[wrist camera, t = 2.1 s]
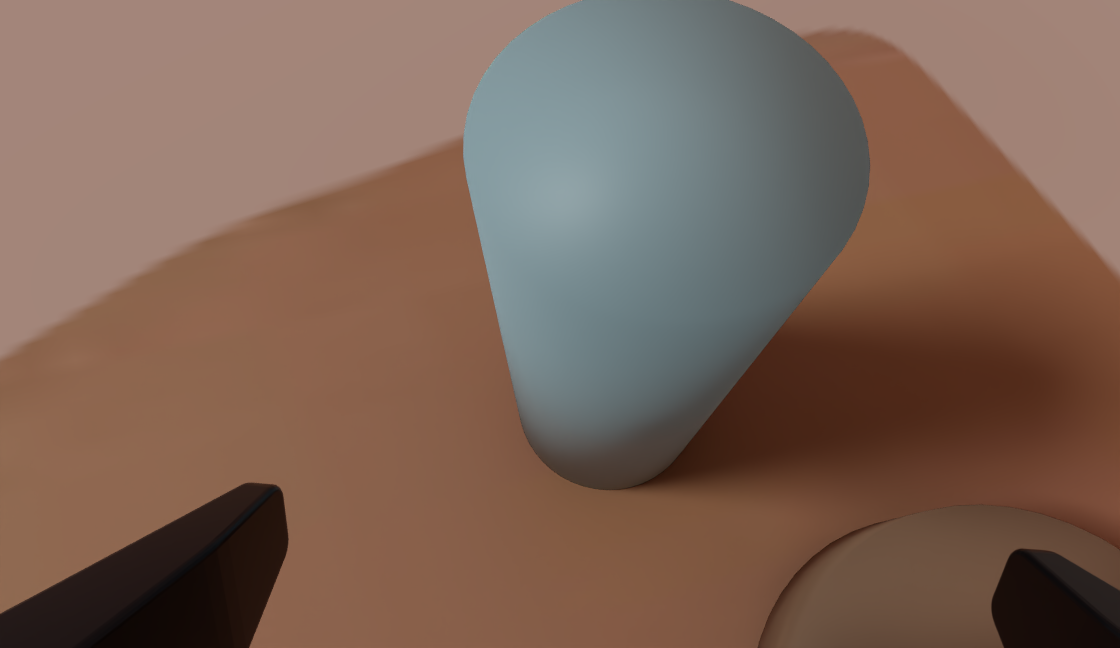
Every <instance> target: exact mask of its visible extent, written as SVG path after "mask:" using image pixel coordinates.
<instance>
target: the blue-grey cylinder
mask: <svg viewBox="0 0 1120 648" xmlns="http://www.w3.org/2000/svg"><path fill="white" fill-rule="evenodd" d="M463 157H464V164H465V171H466V177H467V182H468V187H469V191H470V196H471V200H472V205H473V209H474V214H475V218H476V223H477V227H478V232H479V236H480V241H481V245H482V250H483V254H484V259H485V263H486V268H487V272H488V277H489V281H490V286H491V290H492V295H493V299H494V303H495V308H496V312H497V317H498V321H499V326H500V330H501V335H502V339H503V344H504V348H505V353H506V357H507V362H508V366H509V371H510V375H511V380H512V384H513V389H514V393H515V398H516V402H517V407H518V411H519V415H520V420H521V424H522V427H523V430H524V433H525V435H526V437H527V440H528V442H529V444H530V445H531V447H532V448H533V450H534V452H535V453H536V454H537V455H538V457H539V458H540V459H541V460H542V461H543V462H544V463H545V464H546V465H547V466H548V467H549V468H550V469H551V470H553V471H554V472H556V473H557V474H558V475H560V476H561V477H563V478H565V479H567V480H569V481H571V482H573V483H576V484H579V485H581V486H585V487H589V488H594V489H603V490H615V489H624V488H629V487H633V486H636V485H639V484H642V483H644V482H646V481H648V480H650V479H653V478H654V477H656V476H657V475H659V474H660V473H662V472H663V471H664V470H665V469H666V468H668V467H669V466H670V465H671V464H672V463H673V462H674V460H675V459H676V458H677V457H678V456H679V454H680V453H681V452H682V451H683V449H684V448H685V447H686V446H687V444H688V443H689V442H690V441H691V439H692V438H693V437H694V436H695V434H696V433H697V432H698V431H699V429H700V428H701V427H702V426H703V424H704V423H705V422H706V421H707V419H708V418H709V417H710V416H711V414H712V413H713V412H714V410H715V409H716V408H717V407H718V405H719V404H720V403H721V402H722V400H723V399H724V398H725V397H726V395H727V394H728V393H729V392H730V390H731V389H732V388H733V387H734V385H735V384H736V383H737V382H738V380H739V379H740V378H741V377H742V375H743V374H744V373H745V372H746V370H747V369H748V368H749V367H750V365H751V364H752V363H753V361H754V360H755V359H756V358H757V356H758V355H759V354H760V353H761V351H762V350H763V349H764V348H765V346H766V345H767V344H768V343H769V341H770V340H771V339H772V338H773V336H774V335H775V334H776V333H777V331H778V330H779V329H780V328H781V326H782V325H783V324H784V323H785V321H786V320H787V319H788V318H789V316H790V315H791V314H792V312H793V311H794V310H795V309H796V307H797V306H798V305H799V304H800V302H801V301H802V300H803V299H804V297H805V296H806V295H807V294H808V292H809V291H810V290H811V289H812V287H813V286H814V285H815V284H816V282H817V281H818V280H819V279H820V277H821V276H822V275H823V274H824V272H825V271H826V270H827V269H828V267H829V266H830V265H831V263H832V262H833V261H834V260H835V258H836V257H837V256H838V255H839V253H840V252H841V251H842V250H843V248H844V246H845V245H846V243H847V242H848V240H849V238H850V237H851V235H852V233H853V232H854V230H855V228H856V226H857V223H858V221H859V218H860V216H861V213H862V211H863V208H864V205H865V200H866V196H867V191H868V187H869V173H870V158H869V149H868V140H867V137H866V133H865V129H864V125H863V121H862V118H861V116H860V114H859V111H858V109H857V107H856V104H855V102H854V100H853V98H852V96H851V95H850V93H849V91H848V90H847V88H846V86H845V85H844V83H843V81H842V80H841V78H840V77H839V76H838V75H837V73H836V72H835V71H834V70H833V68H832V67H831V66H830V64H829V63H828V62H827V61H826V60H825V59H824V58H823V57H822V56H821V55H820V54H819V53H818V52H817V51H816V50H815V49H814V48H813V47H812V46H811V45H810V44H808V43H807V42H806V41H804V40H803V39H802V38H801V37H799V36H798V35H797V34H795V33H794V32H793V31H791V30H790V29H788V28H787V27H785V26H783V25H782V24H780V23H778V22H777V21H775V20H774V19H772V18H770V17H768V16H766V15H763V14H762V13H760V12H758V11H755V10H753V9H751V8H749V7H746V6H743V5H740V4H738V3H735V2H732V1H729V0H583V1H580V2H577V3H574V4H571V5H568V6H566V7H564V8H562V9H560V10H558V11H556V12H553V13H551V14H549V15H547V16H546V17H544V18H542V19H541V20H539V21H538V22H536V23H535V24H533V25H531V26H530V27H528V28H527V29H526V30H525V31H523V32H522V33H521V34H520V35H518V36H517V37H516V38H515V39H513V40H512V41H511V42H510V43H509V44H508V46H506V47H505V48H504V50H503V51H502V52H501V53H500V54H499V55H498V56H497V57H496V58H495V60H494V61H493V62H492V64H491V66H490V67H489V68H488V70H487V71H486V72H485V74H484V75H483V77H482V79H481V81H480V83H479V85H478V87H477V89H476V91H475V93H474V95H473V98H472V101H471V104H470V107H469V110H468V113H467V118H466V125H465V130H464V152H463Z"/></svg>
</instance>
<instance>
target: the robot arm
mask: <svg viewBox="0 0 1120 648" xmlns="http://www.w3.org/2000/svg"><path fill="white" fill-rule="evenodd" d="M287 548H288V529H287V522H286V514H285V506H284V498H283V493H282V491H281V489H280V488H279V487H278V486H277V485H274V484H262V483H245V484H243V485H240V486H238V487H237V488H235V489H233V490H231V491H229V492H227V493H225V494H223V495H222V496H220V497H218V498H216V499H214V500H212V501H210V502H209V503H207V504H205V505H203V506H201V507H199V508H197V509H195V510H194V511H192V512H190V513H188V514H186V515H184V516H182V517H180V518H179V519H177V520H175V521H173V522H171V523H169V524H167V525H165V526H164V527H162V528H160V529H158V530H156V531H154V532H152V533H151V534H149V535H147V536H145V537H143V538H141V539H139V540H137V541H136V542H134V543H132V544H130V545H128V546H126V547H124V548H122V549H121V550H119V551H117V552H115V553H113V554H111V555H109V556H108V557H106V558H104V559H102V560H100V561H98V562H96V563H94V564H93V565H91V566H89V567H87V568H85V569H83V570H81V571H79V572H78V573H76V574H74V575H72V576H70V577H68V578H66V579H64V580H63V581H61V582H59V583H57V584H55V585H53V586H51V587H49V588H48V589H46V590H44V591H42V592H40V593H38V594H36V595H34V596H33V597H31V598H29V599H27V600H25V601H23V602H21V603H19V604H18V605H16V606H14V607H12V608H10V609H8V610H6V611H4V612H3V613H1V614H0V648H249V647H250V644H251V642H252V639H253V637H254V634H255V632H256V629H257V627H258V624H259V622H260V619H261V617H262V614H263V612H264V609H265V607H266V604H267V602H268V599H269V597H270V594H271V592H272V589H273V587H274V584H275V582H276V579H277V576H278V574H279V571H280V569H281V566H282V564H283V561H284V559H285V556H286V553H287ZM991 612H992V618H993V621H994V624H995V627H996V629H997V632H998V634H999V637H1000V639H1001V642H1002V645H1003V647H1004V648H1120V590H1118V589H1117V588H1115V587H1113V586H1112V585H1110V584H1108V583H1107V582H1105V581H1103V580H1101V579H1100V578H1098V577H1096V576H1095V575H1093V574H1091V573H1090V572H1088V571H1086V570H1085V569H1083V568H1081V567H1080V566H1078V565H1076V564H1074V563H1073V562H1071V561H1069V560H1068V559H1066V558H1064V557H1063V556H1061V555H1059V554H1057V553H1055V552H1052V551H1048V550H1037V549H1025V548H1021V549H1017V550H1015V551H1013V552H1012V553H1011V554H1010V556H1009V557H1008V560H1007V562H1006V565H1005V567H1004V570H1003V572H1002V575H1001V577H1000V580H999V582H998V584H997V587H996V589H995V592H994V594H993V597H992V602H991Z"/></svg>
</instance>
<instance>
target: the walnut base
mask: <svg viewBox="0 0 1120 648" xmlns="http://www.w3.org/2000/svg"><path fill="white" fill-rule="evenodd" d="M1021 548H1025V549H1037V550H1048V551H1052V552H1055V553H1057V554H1059V555H1061V556H1063V557H1064V558H1066V559H1068V560H1069V561H1071V562H1073V563H1074V564H1076V565H1078V566H1080V567H1081V568H1083V569H1085V570H1086V571H1088V572H1090V573H1091V574H1093V575H1095V576H1096V577H1098V578H1100V579H1101V580H1103V581H1105V582H1107V583H1108V584H1110V585H1112V586H1113V587H1115V588H1117V589H1118V590H1120V550H1119V549H1118V548H1116V547H1114V546H1113V545H1111V544H1110V543H1108V542H1106V541H1105V540H1103V539H1101V538H1100V537H1097V536H1095V535H1093V534H1091V533H1089V532H1087V531H1085V530H1083V529H1080V528H1078V527H1076V526H1074V525H1072V524H1070V523H1067V522H1064V521H1061V520H1058V519H1055V518H1052V517H1049V516H1046V515H1043V514H1040V513H1036V512H1031V511H1026V510H1022V509H1017V508H1012V507H1003V506H992V505H962V506H950V507H945V508H940V509H934V510H929V511H924V512H920V513H916V514H912V515H908V516H904V517H900V518H896V519H892V520H888V521H884V522H880V523H876V524H873V525H870V526H867V527H864V528H861V529H858V530H855V531H853V532H851V533H849V534H847V535H845V536H843V537H841V538H839V539H837V540H835V541H834V542H832V543H830V544H829V545H828V546H826V547H825V548H824V549H822V550H821V551H820V552H818V553H817V554H815V555H814V556H813V557H812V558H811V559H810V560H809V561H808V562H807V563H806V564H805V565H804V566H803V567H802V568H801V569H800V570H799V571H798V572H797V573H796V574H795V575H794V577H793V578H792V579H791V581H790V582H789V583H788V585H787V586H786V587H785V589H784V590H783V591H782V593H781V594H780V596H779V598H778V600H777V602H776V604H775V606H774V607H773V609H772V611H771V613H770V615H769V617H768V620H767V622H766V625H765V628H764V630H763V633H762V636H761V638H760V641H759V645H758V648H1004V647H1003V645H1002V642H1001V639H1000V637H999V634H998V632H997V629H996V627H995V624H994V621H993V618H992V612H991V602H992V597H993V594H994V592H995V589H996V587H997V584H998V582H999V580H1000V577H1001V575H1002V572H1003V570H1004V567H1005V565H1006V562H1007V560H1008V557H1009V556H1010V554H1011V553H1012V552H1013V551H1015V550H1017V549H1021Z"/></svg>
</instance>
